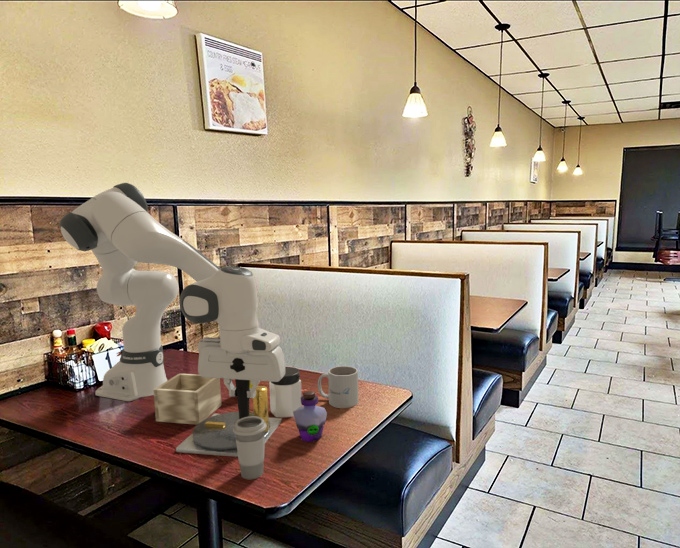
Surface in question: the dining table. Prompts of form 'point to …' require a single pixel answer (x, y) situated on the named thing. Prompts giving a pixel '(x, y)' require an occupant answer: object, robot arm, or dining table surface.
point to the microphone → (241, 389)
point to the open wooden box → (187, 399)
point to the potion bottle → (310, 417)
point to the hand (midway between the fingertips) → (242, 396)
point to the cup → (250, 445)
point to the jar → (286, 394)
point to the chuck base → (192, 447)
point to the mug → (341, 386)
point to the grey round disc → (229, 425)
